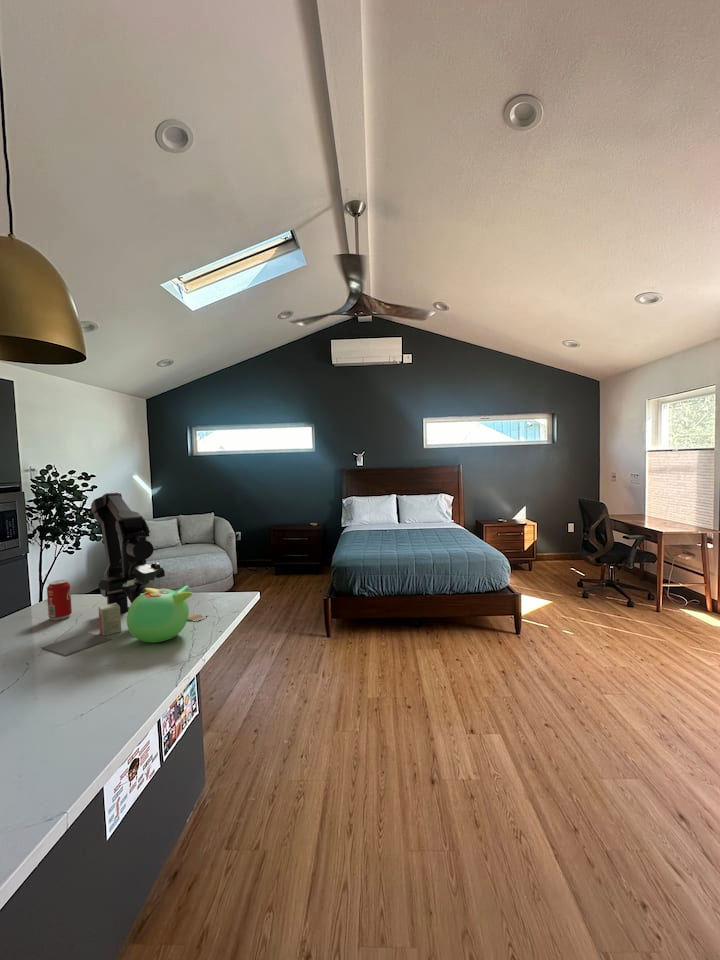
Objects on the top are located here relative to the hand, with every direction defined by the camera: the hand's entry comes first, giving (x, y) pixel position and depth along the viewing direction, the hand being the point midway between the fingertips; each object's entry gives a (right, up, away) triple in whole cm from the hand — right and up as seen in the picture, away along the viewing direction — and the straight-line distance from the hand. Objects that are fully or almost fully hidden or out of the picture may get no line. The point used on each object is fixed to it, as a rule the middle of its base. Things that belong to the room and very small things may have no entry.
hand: (134, 605), depth 138 cm
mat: (-8, -6, -15) cm, 18 cm away
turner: (+14, -5, +4) cm, 15 cm away
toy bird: (+15, -6, -14) cm, 21 cm away
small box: (-4, -6, -7) cm, 10 cm away
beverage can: (-29, -7, +8) cm, 30 cm away
